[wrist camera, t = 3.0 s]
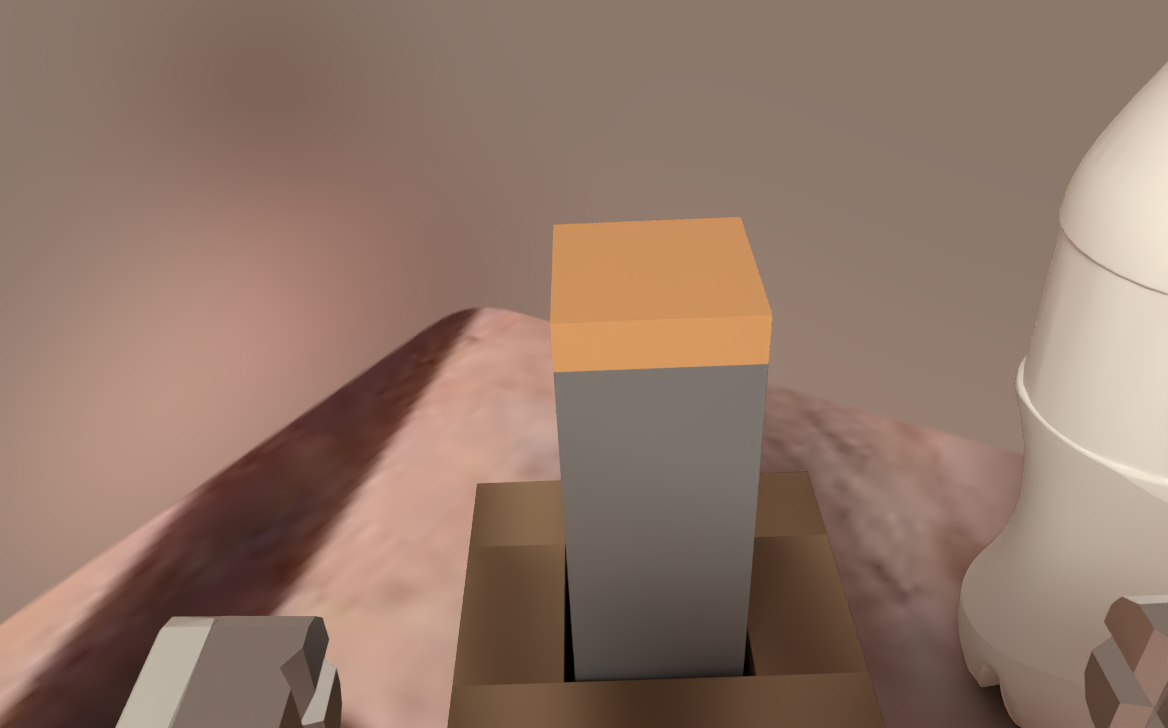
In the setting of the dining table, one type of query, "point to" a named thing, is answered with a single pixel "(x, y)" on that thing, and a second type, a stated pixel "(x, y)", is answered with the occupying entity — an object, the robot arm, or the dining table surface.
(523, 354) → the dining table surface
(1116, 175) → the water bottle
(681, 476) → the plug peg
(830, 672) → the block
